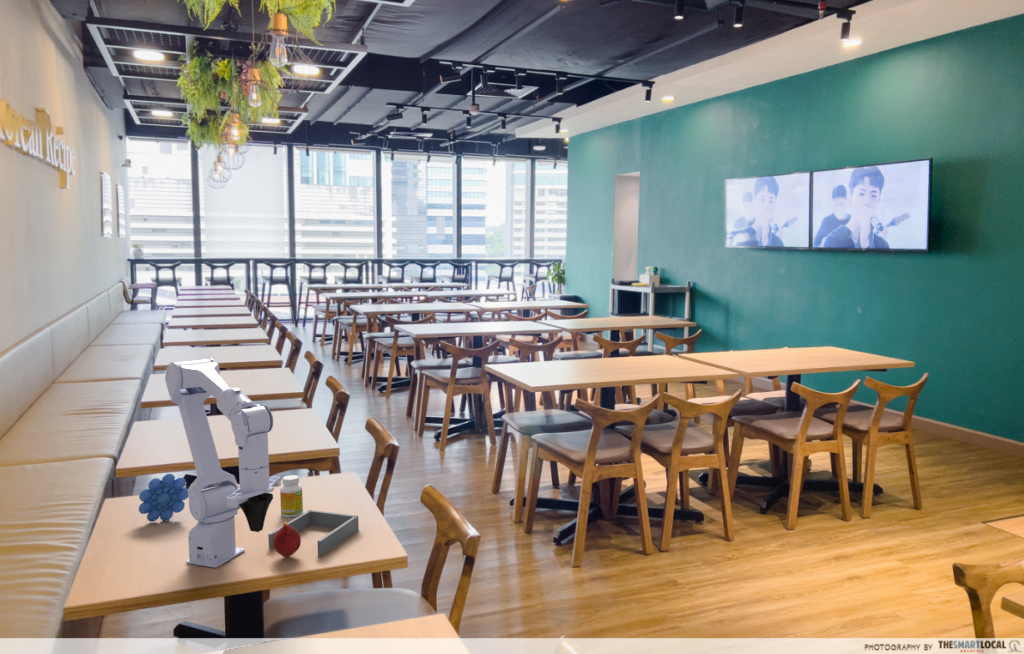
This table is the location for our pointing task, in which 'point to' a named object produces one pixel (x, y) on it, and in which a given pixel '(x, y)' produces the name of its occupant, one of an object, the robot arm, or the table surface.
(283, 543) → the onion
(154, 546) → the table surface
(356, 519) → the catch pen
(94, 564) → the table surface
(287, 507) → the supplement bottle
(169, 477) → the blue flower
